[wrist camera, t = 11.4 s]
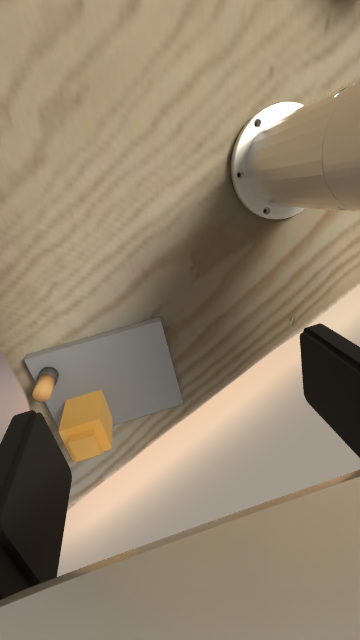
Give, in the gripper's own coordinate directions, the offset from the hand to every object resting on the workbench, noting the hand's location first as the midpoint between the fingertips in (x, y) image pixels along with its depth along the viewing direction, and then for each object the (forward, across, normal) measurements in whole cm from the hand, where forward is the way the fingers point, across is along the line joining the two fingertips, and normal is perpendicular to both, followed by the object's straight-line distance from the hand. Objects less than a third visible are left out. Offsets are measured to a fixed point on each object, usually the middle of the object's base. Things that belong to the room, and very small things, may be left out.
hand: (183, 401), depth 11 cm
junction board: (+30, +8, +16) cm, 35 cm away
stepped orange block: (+29, +12, +19) cm, 36 cm away
